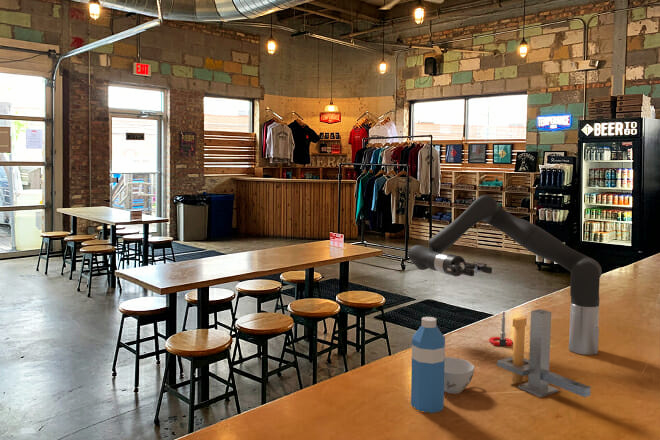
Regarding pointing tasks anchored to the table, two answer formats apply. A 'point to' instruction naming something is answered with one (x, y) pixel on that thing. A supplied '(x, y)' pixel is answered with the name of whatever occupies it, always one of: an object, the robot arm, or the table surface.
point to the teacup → (457, 374)
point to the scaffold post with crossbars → (541, 362)
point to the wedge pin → (518, 346)
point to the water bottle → (428, 367)
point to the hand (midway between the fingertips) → (482, 271)
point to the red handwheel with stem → (502, 338)
